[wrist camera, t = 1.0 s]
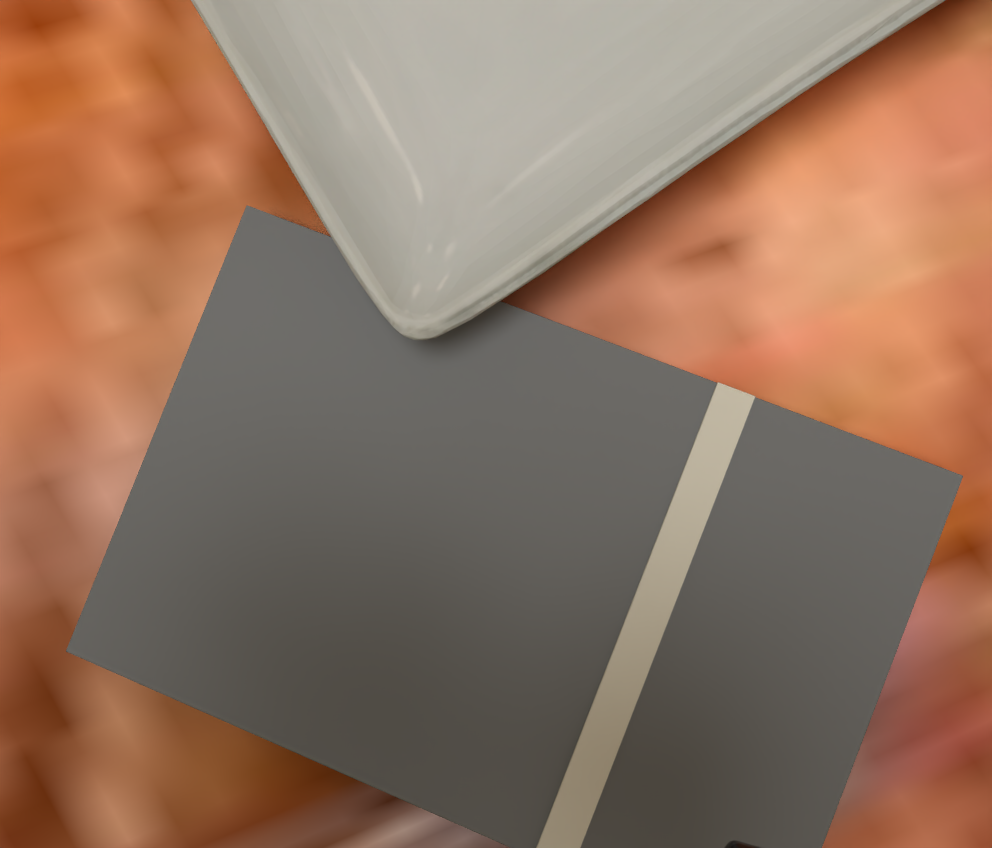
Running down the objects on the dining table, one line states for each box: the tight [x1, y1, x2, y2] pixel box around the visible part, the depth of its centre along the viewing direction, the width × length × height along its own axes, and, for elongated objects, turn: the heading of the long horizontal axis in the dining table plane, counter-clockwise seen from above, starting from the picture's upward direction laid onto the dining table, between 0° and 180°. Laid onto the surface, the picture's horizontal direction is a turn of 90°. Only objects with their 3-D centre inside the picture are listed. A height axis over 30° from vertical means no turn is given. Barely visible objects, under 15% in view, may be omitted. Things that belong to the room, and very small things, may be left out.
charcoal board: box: [66, 206, 963, 848], centre depth 24 cm, size 13×20×2 cm, turn 68°
